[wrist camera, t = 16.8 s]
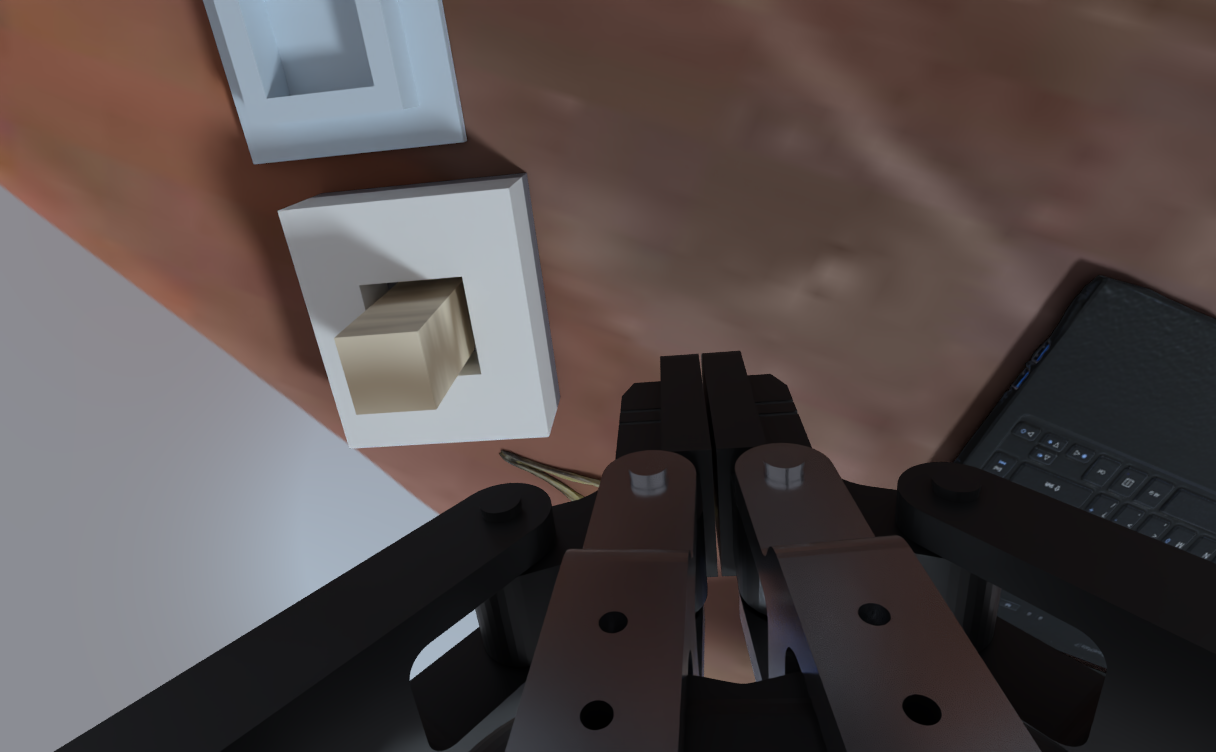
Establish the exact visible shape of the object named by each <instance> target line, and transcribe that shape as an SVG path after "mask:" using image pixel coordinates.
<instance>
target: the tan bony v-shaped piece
mask: <svg viewBox="0 0 1216 752" xmlns="http://www.w3.org/2000/svg"><path fill="white" fill-rule="evenodd" d="M499 454H500V456H501V457H502V458H503V459H504V460H505V461H506V462H508V463H510V464H512V465H514V466H516V467H518V468H520V469H523V470H525V471H528V472H530V473H532V474H534V475H535V476H537V477H539V478H541V479H543V480H545V481H546V482H548V483H549V484H551V485H552V486H554V487H555V488H557V489H558V490H559V491H561V492H562V493H563V494H564V495H565V496H566V497H567V498H569V499H570V500H571V501H575V500H578V499H581V498H584V497H583V496H582V495H580V494H578V493H577V492H575V491H574V490H572V489H571V488H569V487H567V486H566V485H564V484H563V483H561V482H559V481H558V480H556V479H554V478H553V477H551V476H549V475H548V474H545V473H543V472H541V470H542V471H545V472H547V473H550V474H553V475H555V476H558V477H561V478H564V479H567V480H570V481H574V482H580V483H583V484H590V485H594V486H597V487H599V485H600V480H596V479H592V478H587V477H584V476H580V475H577V474H575V473H571V472H567V471H562V470H559V469H556V468H552V467H549V466H546V465H543V464H540V463H537V462H534V461H531V460H528V459H525V458H522V457H520V456H517V455H515V454H512V453H510V452H507V451H503V450H501V453H499Z"/></svg>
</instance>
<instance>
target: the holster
mask: <svg viewBox="0 0 1216 752" xmlns="http://www.w3.org/2000/svg"><path fill="white" fill-rule="evenodd" d="M203 2H204V5H205V9H206V12H207V15H208V18H209V21H210V25H211V28H212V31H213V34H214V38H215V41H216V44H217V47H218V51H219V54H220V57H221V60H222V64H223V67H224V70H225V73H226V76H227V80H228V83H229V86H230V89H231V93H232V96H233V99H234V102H235V106H236V109H237V112H238V115H239V119H240V122H241V125H242V128H243V131H244V135H245V138H246V141H247V144H248V148H249V151H250V154H251V157H252V161H253V164H262V163H272V162H281V161H291V160H300V159H310V158H319V157H329V156H338V155H347V154H357V153H366V152H376V151H385V150H395V149H404V148H414V147H423V146H432V145H442V144H451V143H461V142H465V141H467V136H466V131H465V125H464V120H463V114H462V109H461V103H460V98H459V92H458V87H457V81H456V75H455V70H454V64H453V59H452V53H451V48H450V42H449V37H448V31H447V26H446V20H445V15H444V9H443V4H442V0H203Z"/></svg>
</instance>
